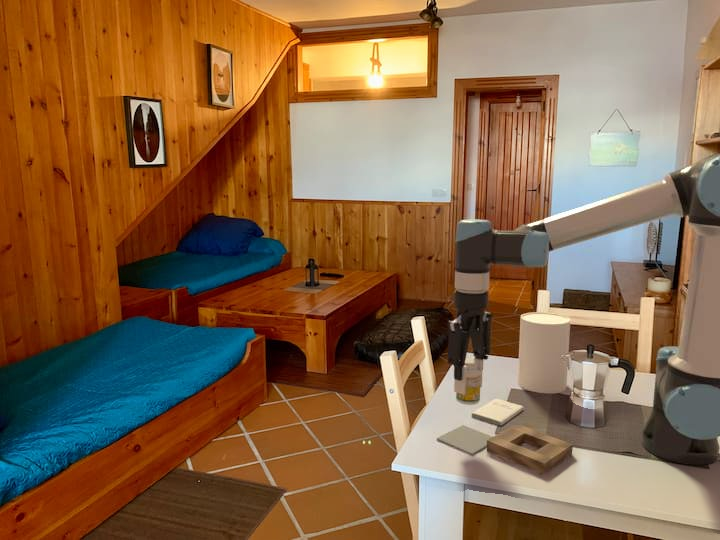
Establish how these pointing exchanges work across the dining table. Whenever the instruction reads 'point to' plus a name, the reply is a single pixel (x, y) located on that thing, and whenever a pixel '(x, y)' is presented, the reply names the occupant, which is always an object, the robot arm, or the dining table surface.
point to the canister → (543, 352)
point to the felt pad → (465, 439)
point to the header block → (539, 461)
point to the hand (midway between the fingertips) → (468, 389)
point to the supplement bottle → (471, 383)
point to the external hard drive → (497, 411)
